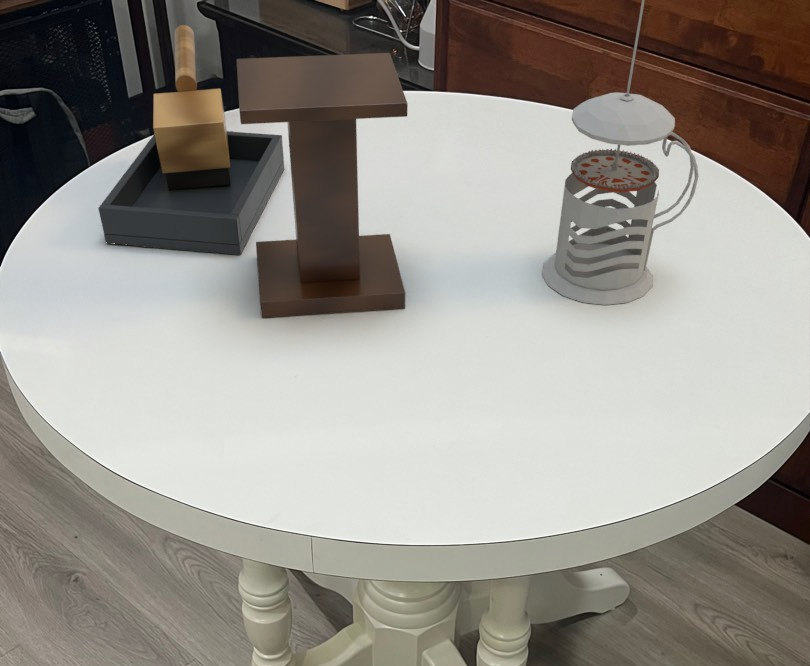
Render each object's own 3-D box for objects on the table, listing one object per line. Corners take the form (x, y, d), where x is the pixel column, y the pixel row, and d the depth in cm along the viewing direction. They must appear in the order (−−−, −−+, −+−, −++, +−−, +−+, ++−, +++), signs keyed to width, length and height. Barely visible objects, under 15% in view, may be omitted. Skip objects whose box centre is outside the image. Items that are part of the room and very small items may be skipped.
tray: (240, 255, 89) (236, 218, 87) (105, 244, 90) (97, 208, 88) (284, 168, 102) (282, 134, 99) (165, 160, 103) (159, 126, 100)
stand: (261, 318, 82) (239, 110, 70) (257, 256, 89) (236, 58, 77) (405, 308, 83) (407, 102, 71) (389, 248, 90) (389, 52, 78)
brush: (166, 193, 95) (149, 111, 89) (166, 104, 108) (151, 26, 102) (233, 187, 96) (221, 105, 90) (225, 99, 109) (213, 22, 103)
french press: (536, 246, 91) (572, -64, 73) (662, 247, 91) (729, -62, 73) (547, 304, 84) (589, -23, 66) (683, 305, 84) (762, -20, 66)
